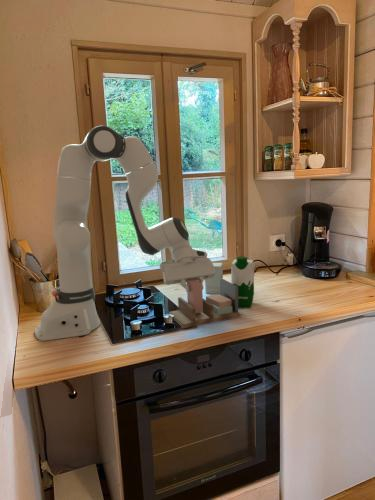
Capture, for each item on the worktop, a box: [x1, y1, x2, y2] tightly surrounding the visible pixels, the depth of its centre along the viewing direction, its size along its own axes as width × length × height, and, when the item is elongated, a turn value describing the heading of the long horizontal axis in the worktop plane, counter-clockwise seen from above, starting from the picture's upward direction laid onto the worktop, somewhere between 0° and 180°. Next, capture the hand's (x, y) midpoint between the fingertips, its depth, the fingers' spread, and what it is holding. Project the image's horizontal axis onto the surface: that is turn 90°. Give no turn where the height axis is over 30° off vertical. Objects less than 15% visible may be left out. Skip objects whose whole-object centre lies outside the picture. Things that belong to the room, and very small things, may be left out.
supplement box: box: [204, 262, 224, 295], centre depth 171 cm, size 7×7×13 cm
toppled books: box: [205, 294, 232, 315], centre depth 144 cm, size 7×10×4 cm, turn 23°
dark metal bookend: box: [219, 279, 239, 313], centre depth 145 cm, size 1×12×10 cm, turn 22°
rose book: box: [186, 279, 204, 313], centre depth 140 cm, size 4×6×11 cm, turn 23°
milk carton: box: [230, 256, 255, 309], centre depth 151 cm, size 9×9×20 cm
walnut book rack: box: [168, 296, 241, 329], centre depth 142 cm, size 23×14×6 cm, turn 113°
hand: (195, 290), depth 138 cm, fingers closed on rose book, 3 cm apart
